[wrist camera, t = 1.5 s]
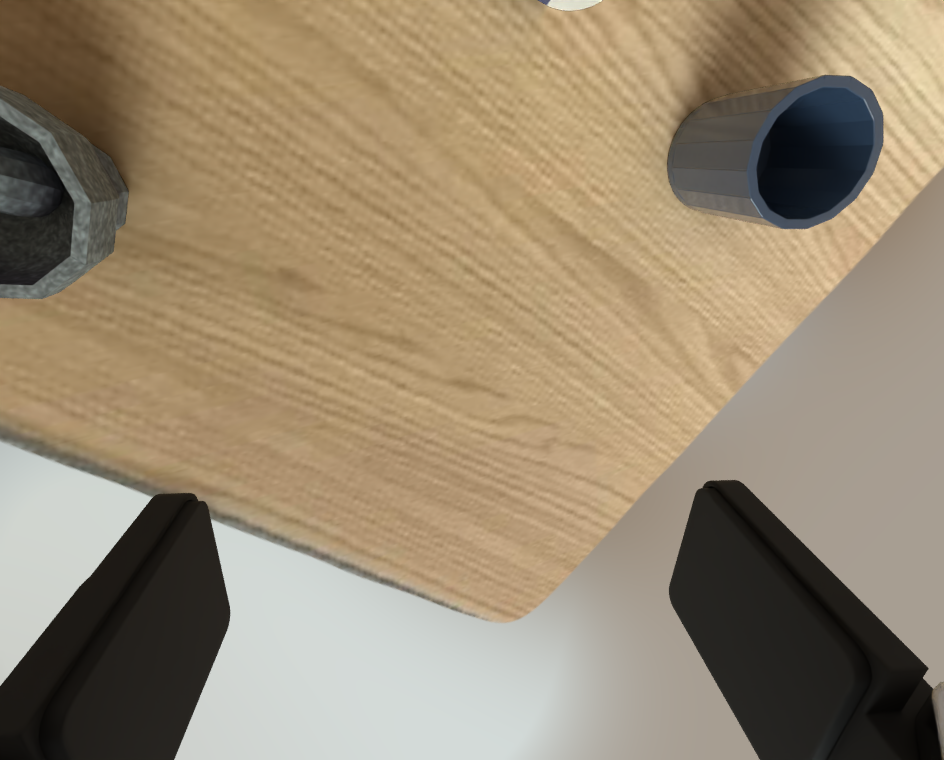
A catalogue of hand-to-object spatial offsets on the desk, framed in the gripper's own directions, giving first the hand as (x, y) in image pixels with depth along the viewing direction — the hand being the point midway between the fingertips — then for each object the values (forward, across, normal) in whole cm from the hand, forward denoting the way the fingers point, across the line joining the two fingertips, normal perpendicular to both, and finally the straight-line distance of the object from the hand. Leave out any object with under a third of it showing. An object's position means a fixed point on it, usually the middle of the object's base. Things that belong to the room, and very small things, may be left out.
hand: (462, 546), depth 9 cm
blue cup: (+26, -18, -8) cm, 32 cm away
